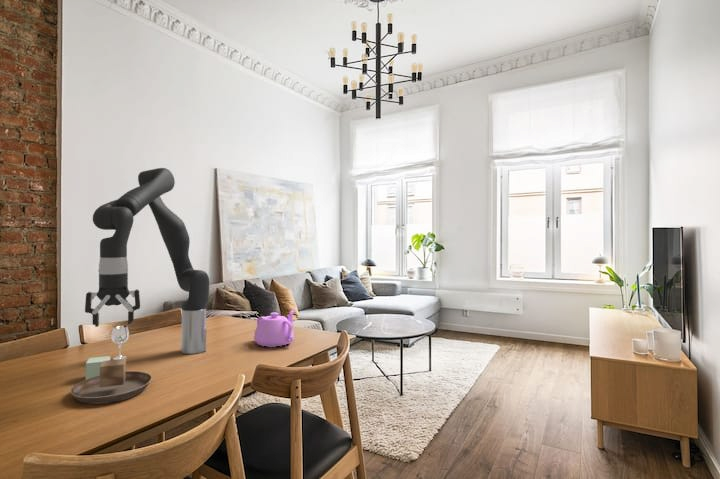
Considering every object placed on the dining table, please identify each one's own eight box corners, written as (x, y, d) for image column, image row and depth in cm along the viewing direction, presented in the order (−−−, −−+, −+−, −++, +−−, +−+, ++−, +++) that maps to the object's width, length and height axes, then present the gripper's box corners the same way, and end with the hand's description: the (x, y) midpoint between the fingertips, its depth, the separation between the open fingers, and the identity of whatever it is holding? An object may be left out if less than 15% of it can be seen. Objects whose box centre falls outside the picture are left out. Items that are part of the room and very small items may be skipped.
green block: (110, 373, 136) (110, 356, 136) (107, 379, 130) (107, 361, 130) (89, 376, 133) (89, 358, 133) (85, 382, 128) (85, 363, 128)
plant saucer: (91, 414, 106) (92, 402, 106) (57, 397, 116) (57, 385, 116) (165, 390, 123) (165, 379, 123) (129, 377, 134) (129, 367, 134)
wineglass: (120, 361, 149) (120, 328, 149) (107, 359, 150) (107, 328, 150) (132, 356, 155) (132, 325, 155) (119, 355, 156) (119, 324, 156)
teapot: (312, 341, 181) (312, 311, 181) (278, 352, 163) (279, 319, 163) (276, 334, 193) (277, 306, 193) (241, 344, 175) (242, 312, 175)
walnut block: (125, 378, 124) (125, 358, 124) (123, 384, 118) (123, 364, 118) (102, 380, 121) (103, 360, 121) (99, 387, 116) (99, 366, 116)
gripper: (140, 270, 128) (140, 320, 129) (87, 271, 122) (87, 324, 122) (139, 272, 122) (139, 325, 122) (83, 274, 115) (83, 329, 116)
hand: (113, 324), depth 122 cm, fingers open, 8 cm apart
